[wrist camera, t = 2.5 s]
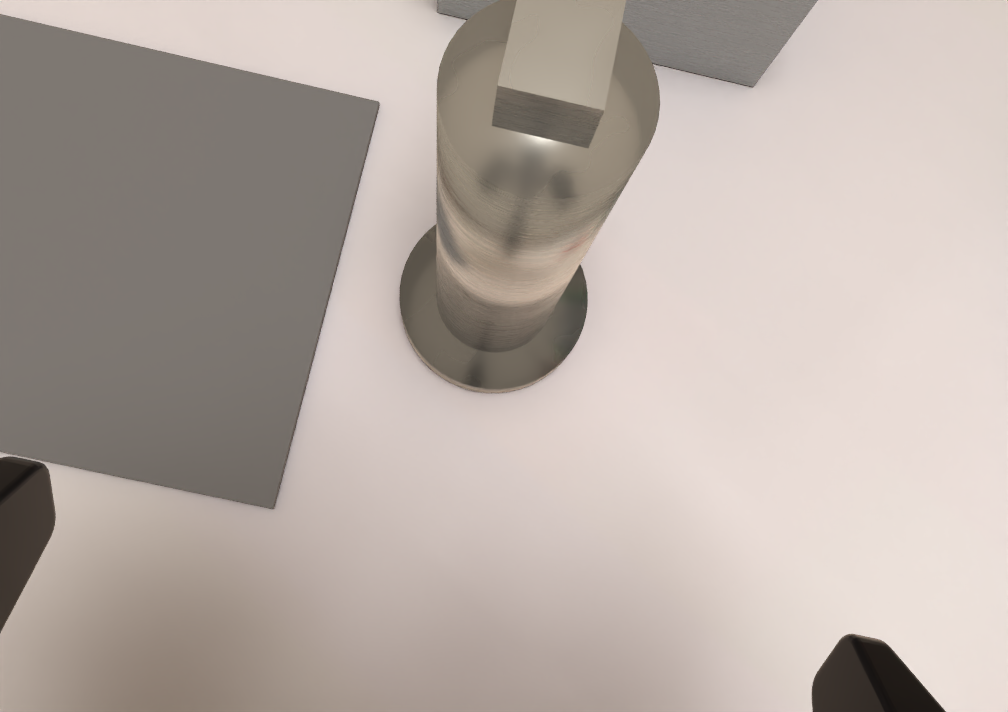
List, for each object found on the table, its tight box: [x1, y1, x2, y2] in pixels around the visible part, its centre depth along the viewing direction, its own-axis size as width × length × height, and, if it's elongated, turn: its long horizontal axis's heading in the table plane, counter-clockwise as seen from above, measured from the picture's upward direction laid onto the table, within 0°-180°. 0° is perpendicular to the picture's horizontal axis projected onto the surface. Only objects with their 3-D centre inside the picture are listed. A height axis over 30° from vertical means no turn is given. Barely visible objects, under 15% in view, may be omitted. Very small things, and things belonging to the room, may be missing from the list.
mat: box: [0, 14, 379, 509], centre depth 22 cm, size 12×12×1 cm
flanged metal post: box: [400, 0, 660, 393], centre depth 17 cm, size 6×5×13 cm
